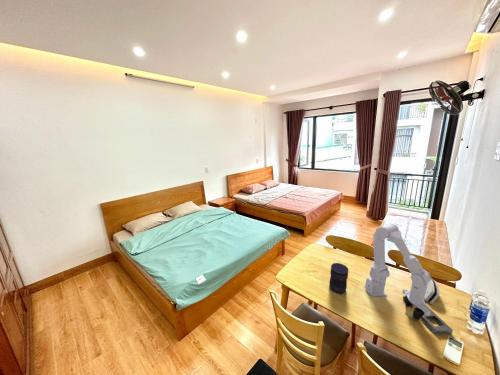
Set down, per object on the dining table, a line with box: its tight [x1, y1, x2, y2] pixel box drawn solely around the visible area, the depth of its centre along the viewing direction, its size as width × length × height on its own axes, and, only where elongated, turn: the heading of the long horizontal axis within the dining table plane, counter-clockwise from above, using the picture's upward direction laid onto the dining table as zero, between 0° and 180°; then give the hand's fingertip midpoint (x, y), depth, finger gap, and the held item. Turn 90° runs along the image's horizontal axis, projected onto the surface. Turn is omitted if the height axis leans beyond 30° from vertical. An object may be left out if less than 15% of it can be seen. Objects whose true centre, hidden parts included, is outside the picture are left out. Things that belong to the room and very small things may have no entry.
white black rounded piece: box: [424, 277, 440, 305], centre depth 117 cm, size 17×5×10 cm, turn 148°
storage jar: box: [328, 262, 349, 295], centre depth 122 cm, size 10×10×15 cm
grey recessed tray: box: [402, 298, 454, 336], centre depth 103 cm, size 8×20×2 cm, turn 2°
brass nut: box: [405, 306, 416, 321], centre depth 103 cm, size 4×4×6 cm
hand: (412, 314), depth 103 cm, fingers open, 5 cm apart
